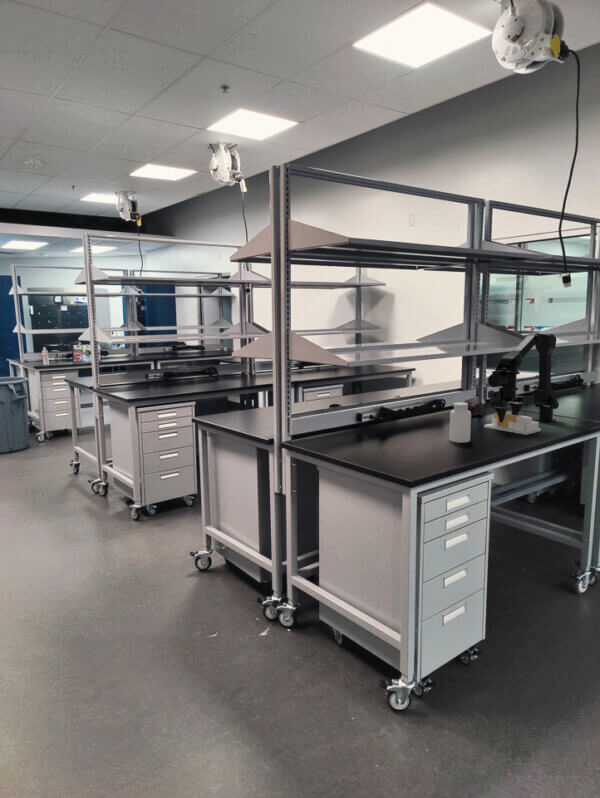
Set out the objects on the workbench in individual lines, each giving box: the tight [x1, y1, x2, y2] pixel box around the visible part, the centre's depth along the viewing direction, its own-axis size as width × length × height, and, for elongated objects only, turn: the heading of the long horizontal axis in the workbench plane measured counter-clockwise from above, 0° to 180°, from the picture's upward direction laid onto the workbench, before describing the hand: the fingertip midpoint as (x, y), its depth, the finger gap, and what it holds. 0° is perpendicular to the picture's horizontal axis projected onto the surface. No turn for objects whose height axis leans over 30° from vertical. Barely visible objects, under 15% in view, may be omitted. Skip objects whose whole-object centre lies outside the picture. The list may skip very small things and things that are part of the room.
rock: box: [462, 396, 483, 417], centre depth 263 cm, size 12×9×10 cm
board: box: [483, 417, 542, 436], centre depth 231 cm, size 11×20×4 cm, turn 36°
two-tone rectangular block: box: [493, 412, 533, 427], centre depth 231 cm, size 4×16×5 cm, turn 36°
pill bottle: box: [448, 401, 472, 444], centre depth 211 cm, size 8×8×15 cm
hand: (507, 421), depth 233 cm, fingers open, 9 cm apart
